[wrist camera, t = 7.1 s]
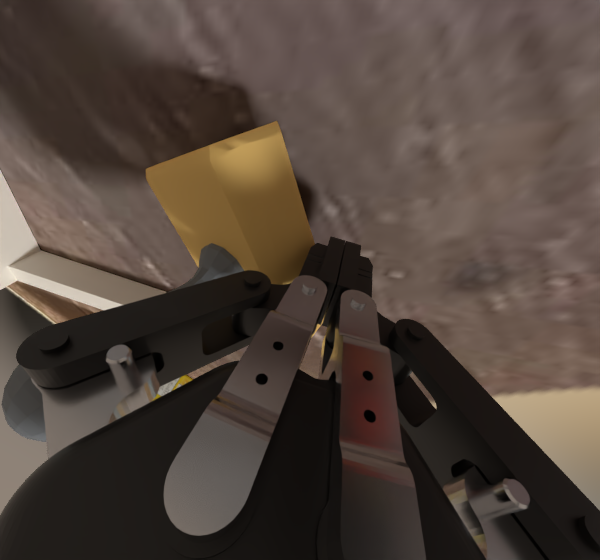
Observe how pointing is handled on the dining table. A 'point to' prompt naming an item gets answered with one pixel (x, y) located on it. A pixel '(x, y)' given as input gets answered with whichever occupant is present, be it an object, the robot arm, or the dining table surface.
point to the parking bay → (56, 265)
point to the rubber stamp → (213, 229)
